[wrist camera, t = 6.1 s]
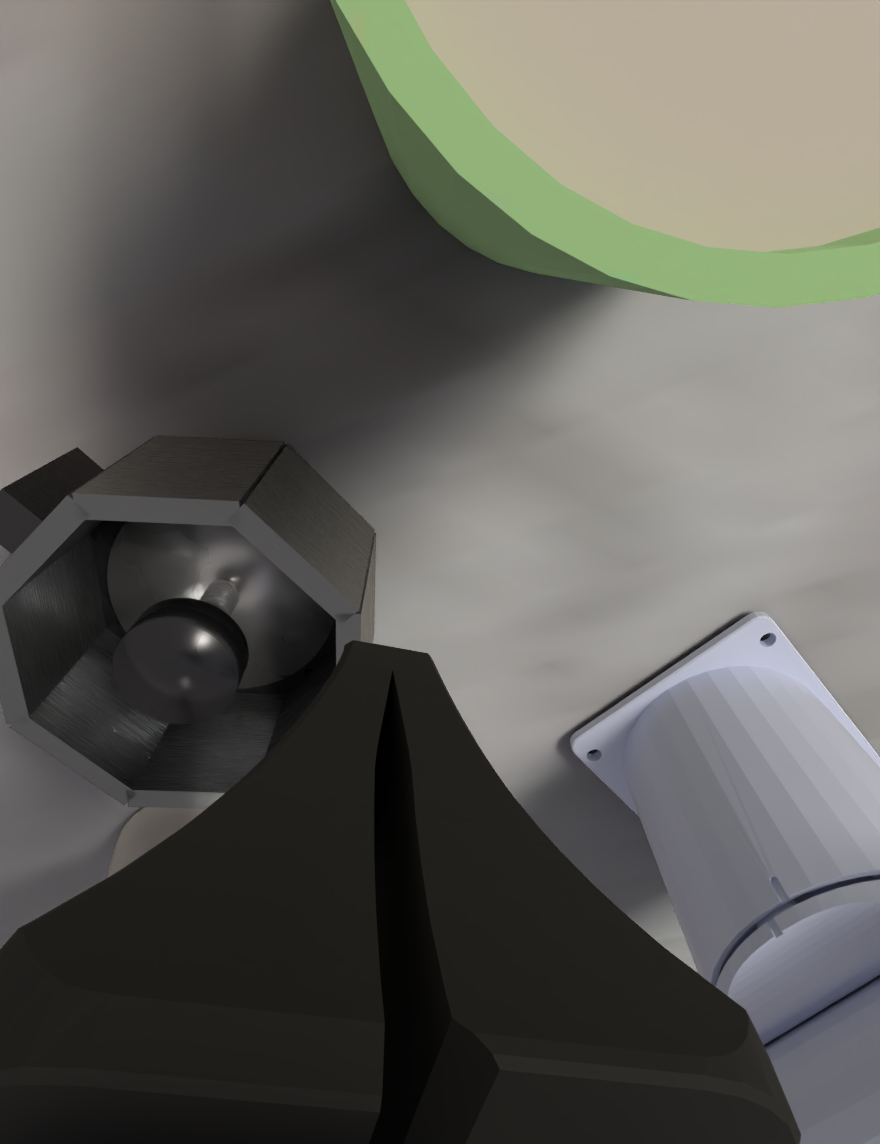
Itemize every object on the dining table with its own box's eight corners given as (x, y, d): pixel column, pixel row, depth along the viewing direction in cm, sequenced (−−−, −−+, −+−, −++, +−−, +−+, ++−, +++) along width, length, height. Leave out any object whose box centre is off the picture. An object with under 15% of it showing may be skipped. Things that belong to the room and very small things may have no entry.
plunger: (383, 595, 21) (372, 682, 17) (237, 716, 23) (193, 822, 19) (213, 434, 19) (151, 486, 15) (66, 582, 21) (-27, 667, 16)
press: (433, 587, 22) (435, 680, 17) (245, 740, 24) (201, 857, 19) (184, 341, 18) (101, 371, 14) (-5, 546, 21) (-131, 631, 16)
